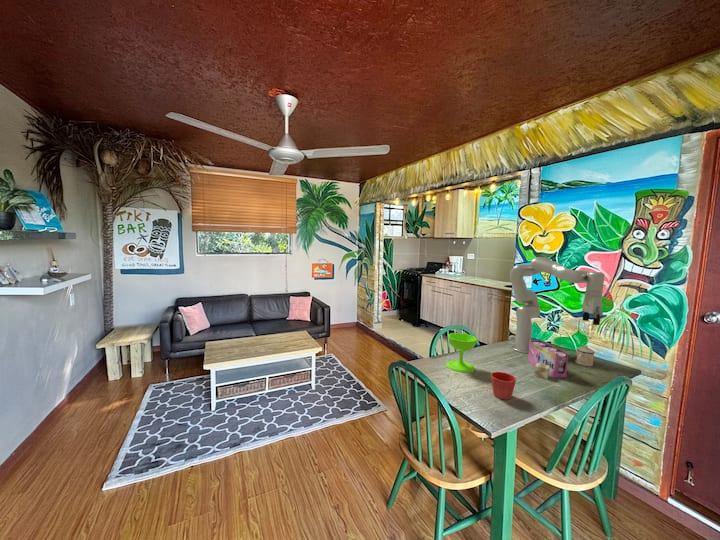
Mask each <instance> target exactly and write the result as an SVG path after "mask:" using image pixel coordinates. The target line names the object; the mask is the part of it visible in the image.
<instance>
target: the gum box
mask: <svg viewBox="0 0 720 540" xmlns="http://www.w3.org/2000/svg"><path fill="white" fill-rule="evenodd" d="M568 361H569V354H568V352H566V351H564V350H561V349H558V348H556V347H554V346H552V345H550V344H548V343H546V342H544V341H542V340H531V341H530V343H529V353H528V359H527V362H528V363H530V364H531V365H532V366H535V365H536V364H537V363H541V364H545V365H549V366H550V368H549V376H551V377H552V378H567V376H568V375H567V373H568Z"/></svg>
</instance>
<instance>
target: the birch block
mask: <svg viewBox="0 0 720 540" xmlns="http://www.w3.org/2000/svg"><path fill="white" fill-rule="evenodd" d="M549 368H550V366H549V365H545V364H541V363H537V364H536V365H535V367H534V377H536V378H541V379H544V380H548V378H549V376H550V375H549Z"/></svg>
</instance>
